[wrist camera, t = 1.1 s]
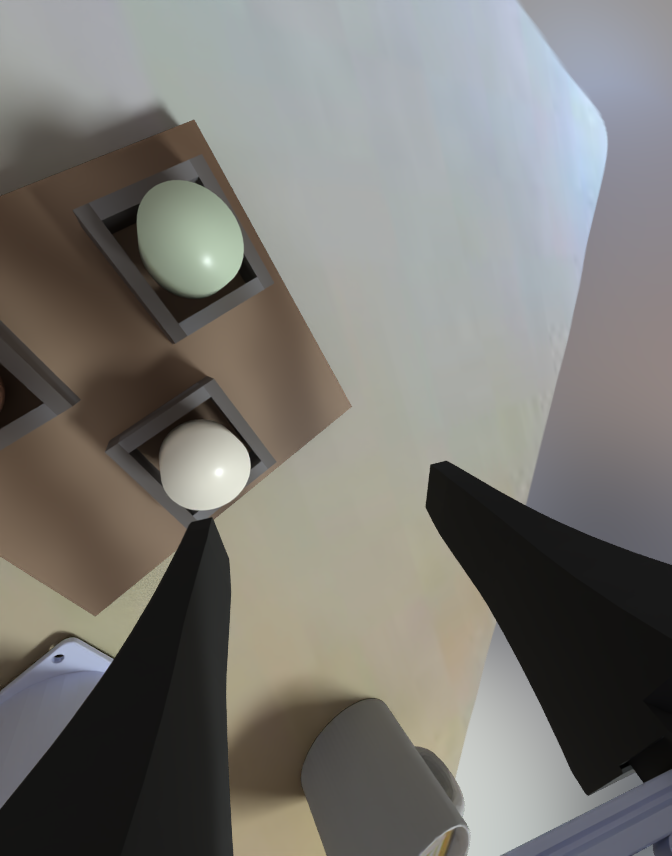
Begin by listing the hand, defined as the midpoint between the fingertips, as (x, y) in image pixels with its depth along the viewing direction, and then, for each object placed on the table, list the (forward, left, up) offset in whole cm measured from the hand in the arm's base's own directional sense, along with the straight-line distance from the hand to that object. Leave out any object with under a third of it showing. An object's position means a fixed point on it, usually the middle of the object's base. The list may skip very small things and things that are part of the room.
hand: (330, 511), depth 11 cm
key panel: (-2, +6, -11) cm, 13 cm away
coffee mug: (-9, -33, -11) cm, 36 cm away
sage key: (+3, +9, -8) cm, 12 cm away
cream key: (-2, +2, -8) cm, 8 cm away
